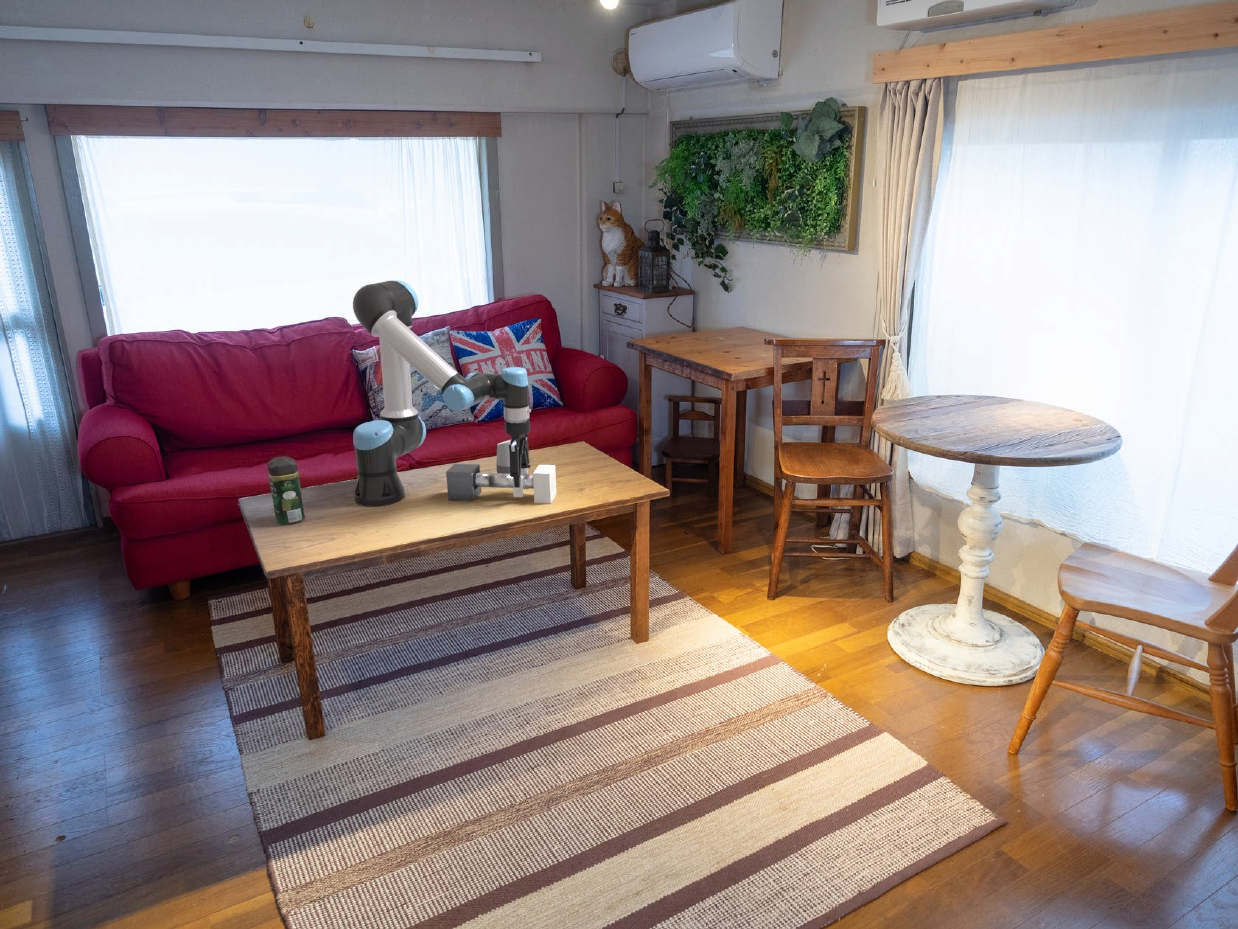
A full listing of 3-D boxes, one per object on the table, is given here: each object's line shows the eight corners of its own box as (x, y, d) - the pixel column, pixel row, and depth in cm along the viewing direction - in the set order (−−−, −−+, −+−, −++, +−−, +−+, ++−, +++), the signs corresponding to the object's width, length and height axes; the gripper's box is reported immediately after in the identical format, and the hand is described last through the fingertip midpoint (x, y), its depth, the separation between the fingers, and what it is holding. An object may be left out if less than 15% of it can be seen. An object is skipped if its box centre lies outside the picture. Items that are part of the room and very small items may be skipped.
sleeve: (448, 500, 262) (445, 471, 259) (457, 491, 270) (454, 463, 267) (473, 501, 261) (471, 472, 258) (481, 492, 269) (479, 464, 266)
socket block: (534, 503, 258) (532, 473, 256) (540, 494, 266) (539, 464, 263) (550, 503, 258) (549, 473, 255) (556, 494, 265) (555, 465, 263)
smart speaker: (510, 472, 287) (508, 432, 283) (531, 477, 282) (529, 436, 278) (491, 480, 280) (488, 439, 276) (512, 485, 275) (509, 443, 271)
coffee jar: (273, 517, 252) (264, 456, 246) (301, 512, 255) (293, 452, 250) (278, 527, 243) (268, 465, 238) (307, 522, 247) (298, 460, 241)
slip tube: (463, 488, 262) (462, 474, 261) (468, 484, 267) (467, 470, 265) (546, 491, 259) (546, 477, 257) (549, 486, 263) (549, 472, 262)
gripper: (521, 428, 246) (525, 504, 253) (537, 411, 264) (540, 482, 271) (495, 428, 247) (500, 503, 254) (513, 411, 265) (517, 482, 272)
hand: (521, 492), depth 262 cm, fingers open, 7 cm apart
